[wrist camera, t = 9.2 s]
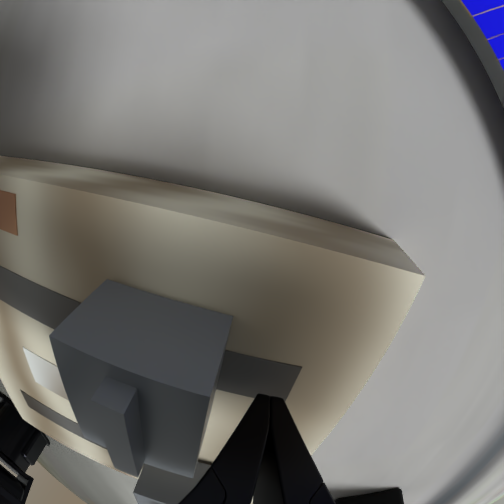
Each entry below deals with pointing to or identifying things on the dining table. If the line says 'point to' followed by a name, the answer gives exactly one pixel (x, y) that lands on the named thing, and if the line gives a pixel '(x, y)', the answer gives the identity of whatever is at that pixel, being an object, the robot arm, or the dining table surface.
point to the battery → (375, 498)
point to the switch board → (195, 291)
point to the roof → (484, 34)
